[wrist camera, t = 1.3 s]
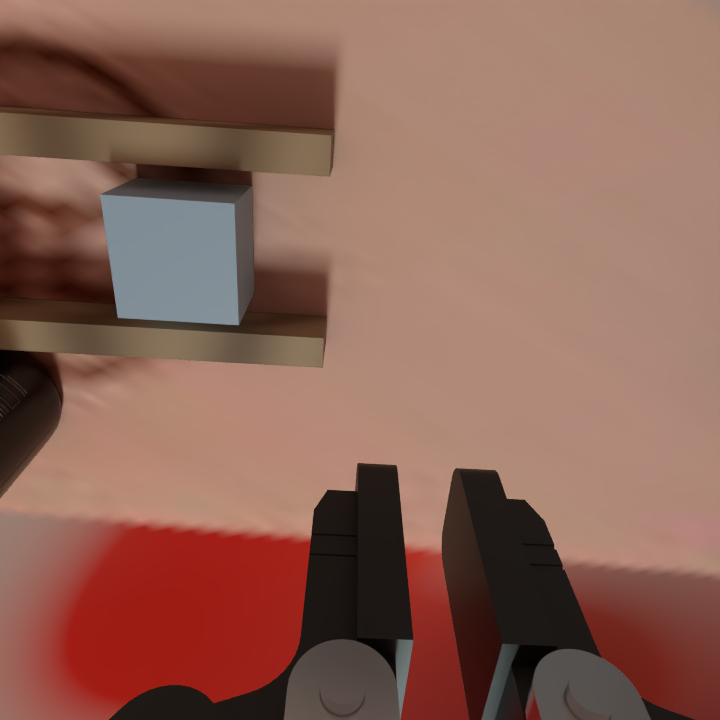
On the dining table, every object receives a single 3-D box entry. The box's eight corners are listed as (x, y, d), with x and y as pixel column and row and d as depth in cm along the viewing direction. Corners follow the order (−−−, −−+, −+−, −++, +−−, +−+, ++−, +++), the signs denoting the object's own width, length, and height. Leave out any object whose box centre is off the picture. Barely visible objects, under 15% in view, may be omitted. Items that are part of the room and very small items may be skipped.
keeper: (252, 184, 24) (234, 203, 21) (254, 292, 27) (238, 325, 23) (138, 177, 24) (99, 194, 21) (150, 285, 27) (117, 317, 23)
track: (334, 129, 23) (329, 139, 20) (325, 344, 28) (320, 383, 24) (-156, 95, 23) (-252, 99, 19) (-82, 320, 27) (-149, 357, 24)
